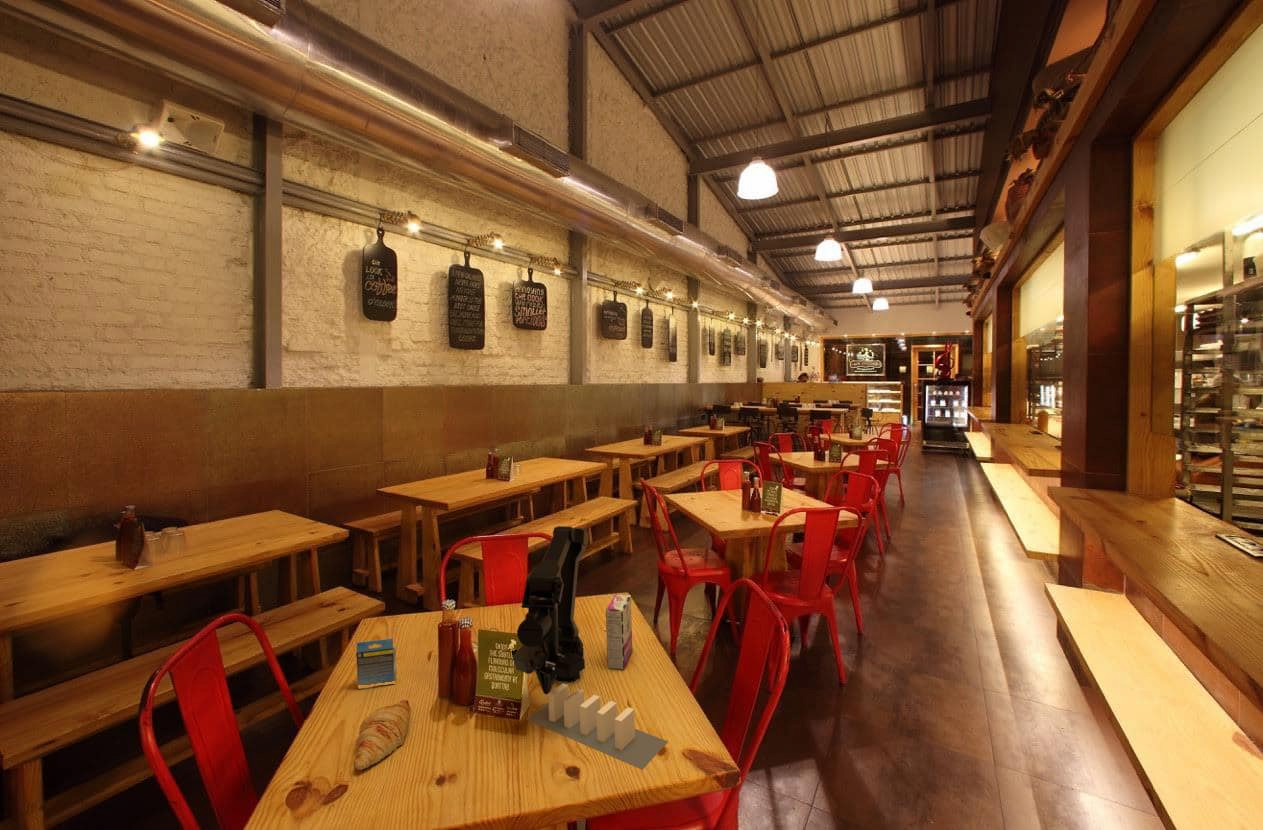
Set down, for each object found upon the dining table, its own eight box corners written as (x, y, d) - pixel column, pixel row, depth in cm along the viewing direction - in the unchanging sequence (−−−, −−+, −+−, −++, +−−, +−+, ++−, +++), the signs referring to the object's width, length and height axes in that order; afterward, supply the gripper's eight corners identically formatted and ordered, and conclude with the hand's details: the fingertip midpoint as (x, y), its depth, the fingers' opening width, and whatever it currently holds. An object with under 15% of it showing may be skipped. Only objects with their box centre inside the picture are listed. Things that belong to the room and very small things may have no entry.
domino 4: (597, 740, 114) (596, 712, 114) (611, 727, 118) (610, 700, 118) (603, 742, 113) (602, 714, 113) (617, 730, 117) (616, 703, 117)
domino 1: (548, 719, 122) (548, 693, 121) (563, 708, 126) (563, 683, 126) (554, 722, 121) (553, 695, 120) (568, 710, 125) (568, 685, 125)
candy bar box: (615, 649, 156) (614, 593, 156) (632, 651, 155) (631, 594, 155) (606, 669, 146) (605, 608, 145) (624, 670, 145) (623, 610, 144)
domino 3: (580, 733, 117) (579, 705, 116) (594, 721, 121) (594, 694, 121) (586, 735, 116) (585, 708, 116) (600, 723, 120) (599, 696, 120)
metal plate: (525, 723, 122) (525, 718, 122) (555, 701, 130) (555, 697, 130) (642, 774, 105) (642, 769, 105) (668, 746, 113) (668, 741, 113)
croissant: (374, 792, 106) (392, 757, 106) (327, 770, 106) (345, 735, 106) (416, 724, 128) (431, 695, 127) (378, 705, 127) (392, 676, 127)
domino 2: (564, 726, 119) (563, 699, 119) (578, 714, 123) (578, 688, 123) (570, 728, 118) (569, 701, 118) (584, 717, 122) (583, 691, 122)
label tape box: (397, 677, 143) (395, 631, 143) (394, 685, 139) (393, 638, 139) (360, 682, 141) (358, 636, 140) (357, 691, 137) (355, 643, 136)
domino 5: (615, 747, 112) (614, 719, 111) (628, 734, 116) (628, 707, 116) (621, 750, 111) (621, 721, 111) (634, 737, 115) (634, 709, 115)
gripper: (490, 630, 123) (491, 697, 124) (551, 650, 113) (553, 724, 113) (525, 613, 132) (527, 676, 133) (585, 630, 122) (587, 699, 122)
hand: (546, 693), depth 125 cm, fingers closed
